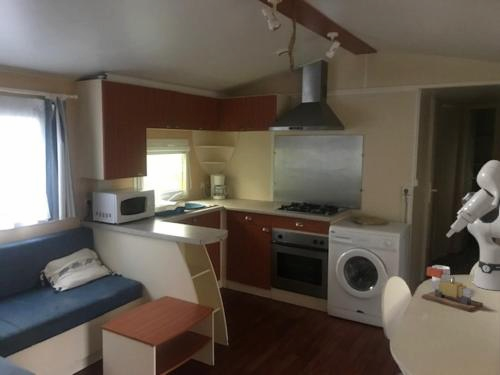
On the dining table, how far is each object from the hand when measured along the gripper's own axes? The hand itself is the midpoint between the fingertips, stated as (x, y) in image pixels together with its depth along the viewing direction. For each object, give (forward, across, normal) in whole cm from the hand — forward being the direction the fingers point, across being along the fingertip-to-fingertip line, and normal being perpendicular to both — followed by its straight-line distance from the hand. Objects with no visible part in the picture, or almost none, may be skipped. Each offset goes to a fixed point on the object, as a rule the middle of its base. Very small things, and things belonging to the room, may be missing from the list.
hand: (447, 236), depth 209 cm
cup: (+25, -14, +16) cm, 33 cm away
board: (+23, +8, +22) cm, 33 cm away
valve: (+22, +9, +21) cm, 32 cm away
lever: (+18, +7, +11) cm, 23 cm away
